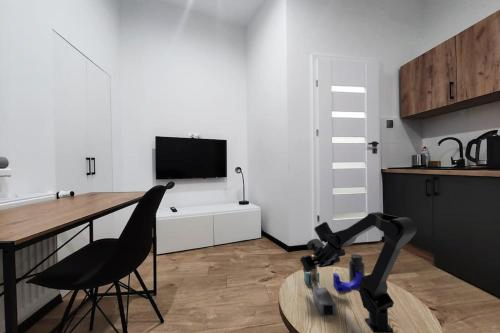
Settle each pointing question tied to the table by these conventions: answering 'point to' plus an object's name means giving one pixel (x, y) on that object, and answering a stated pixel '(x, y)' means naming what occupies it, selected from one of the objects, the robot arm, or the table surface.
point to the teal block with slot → (306, 277)
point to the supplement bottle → (356, 266)
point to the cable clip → (346, 286)
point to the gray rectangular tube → (324, 302)
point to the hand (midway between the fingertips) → (311, 268)
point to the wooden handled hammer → (314, 275)
